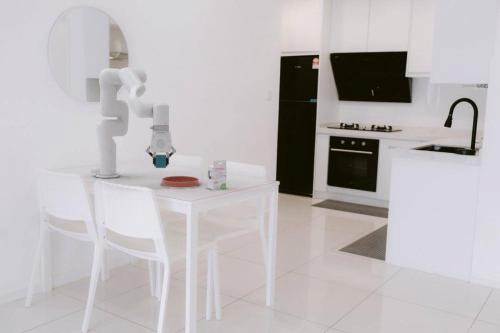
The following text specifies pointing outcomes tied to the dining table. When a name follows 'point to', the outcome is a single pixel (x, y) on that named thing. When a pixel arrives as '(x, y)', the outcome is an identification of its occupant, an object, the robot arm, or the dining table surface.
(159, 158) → the block
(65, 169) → the dining table surface
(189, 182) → the bowl
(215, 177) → the ink box
